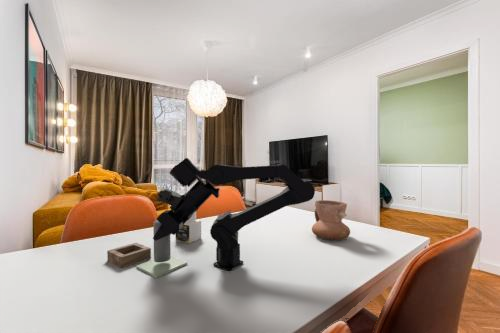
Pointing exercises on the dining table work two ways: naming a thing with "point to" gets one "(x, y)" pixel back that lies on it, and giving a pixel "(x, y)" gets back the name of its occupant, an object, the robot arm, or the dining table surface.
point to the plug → (161, 246)
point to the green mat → (161, 266)
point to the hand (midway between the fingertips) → (157, 236)
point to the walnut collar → (128, 254)
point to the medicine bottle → (189, 230)
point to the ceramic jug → (330, 220)
